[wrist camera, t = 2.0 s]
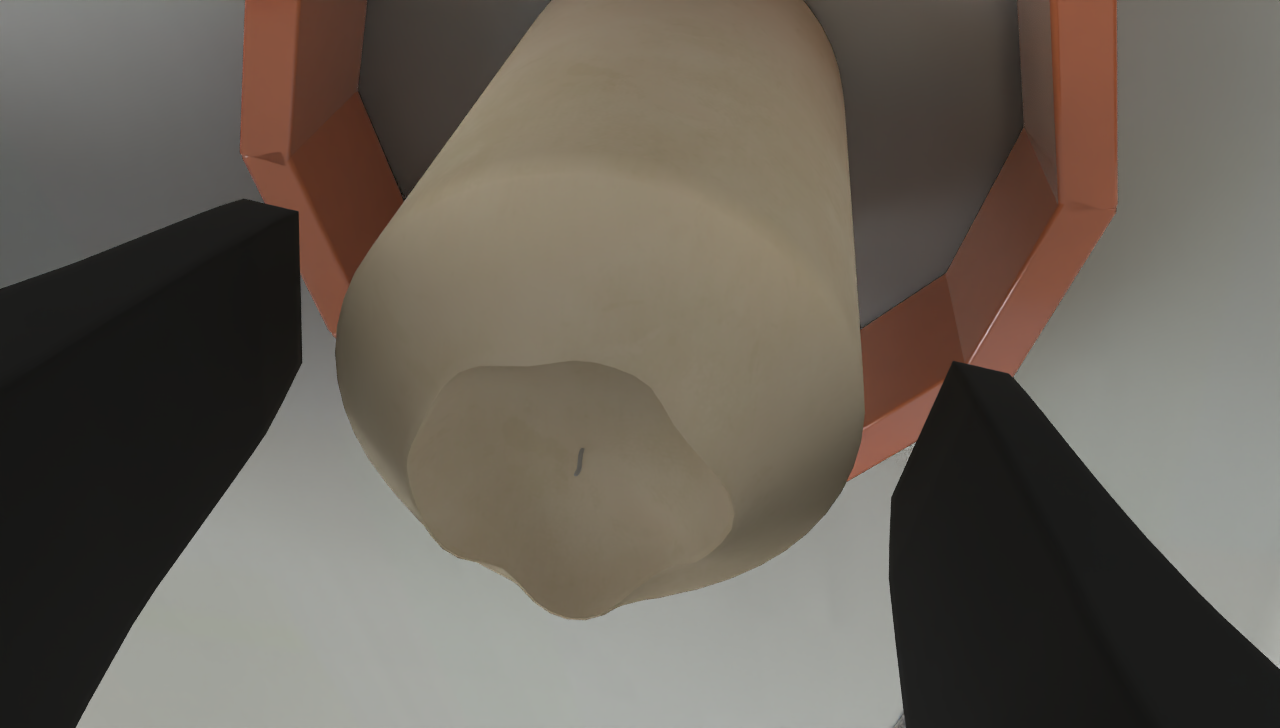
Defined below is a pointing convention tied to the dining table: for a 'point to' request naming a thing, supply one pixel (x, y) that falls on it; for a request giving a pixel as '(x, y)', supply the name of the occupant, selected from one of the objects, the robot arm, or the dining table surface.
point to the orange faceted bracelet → (891, 344)
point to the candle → (622, 306)
